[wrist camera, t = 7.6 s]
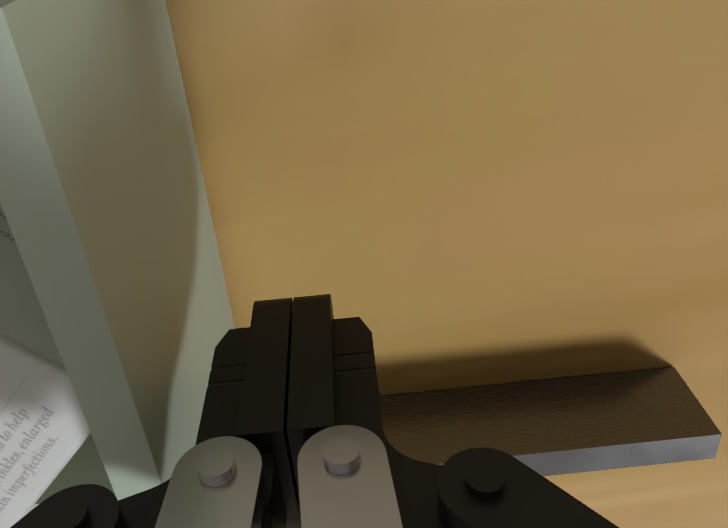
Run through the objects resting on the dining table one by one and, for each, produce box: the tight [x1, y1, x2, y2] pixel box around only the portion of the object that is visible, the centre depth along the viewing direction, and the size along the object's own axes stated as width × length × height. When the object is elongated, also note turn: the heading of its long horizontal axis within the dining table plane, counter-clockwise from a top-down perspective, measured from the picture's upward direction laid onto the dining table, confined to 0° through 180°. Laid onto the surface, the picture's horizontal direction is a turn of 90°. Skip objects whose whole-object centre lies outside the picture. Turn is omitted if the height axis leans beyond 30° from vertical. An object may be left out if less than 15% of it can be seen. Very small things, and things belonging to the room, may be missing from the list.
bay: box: [379, 367, 722, 476], centre depth 17 cm, size 16×29×3 cm, turn 94°
